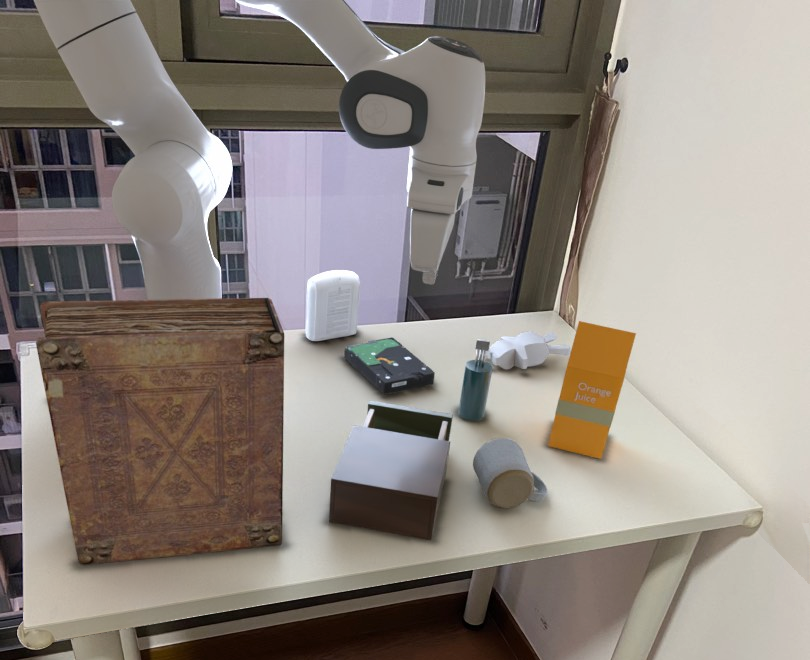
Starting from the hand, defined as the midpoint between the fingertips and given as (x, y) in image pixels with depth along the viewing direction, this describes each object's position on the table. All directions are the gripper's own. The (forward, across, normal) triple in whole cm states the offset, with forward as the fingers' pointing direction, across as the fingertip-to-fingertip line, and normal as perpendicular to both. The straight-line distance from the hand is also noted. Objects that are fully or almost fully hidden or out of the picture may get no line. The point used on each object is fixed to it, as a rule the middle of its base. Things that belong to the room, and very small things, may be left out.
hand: (429, 280), depth 121 cm
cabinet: (+25, +21, 0) cm, 32 cm away
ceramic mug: (+25, +14, +16) cm, 33 cm away
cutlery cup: (+25, -8, +9) cm, 27 cm away
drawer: (+24, +9, 0) cm, 26 cm away
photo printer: (+25, -29, -20) cm, 43 cm away
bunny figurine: (+25, -30, +17) cm, 43 cm away
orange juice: (+25, -4, +27) cm, 37 cm away
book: (+25, +36, -26) cm, 50 cm away
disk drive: (+25, -18, -7) cm, 31 cm away
